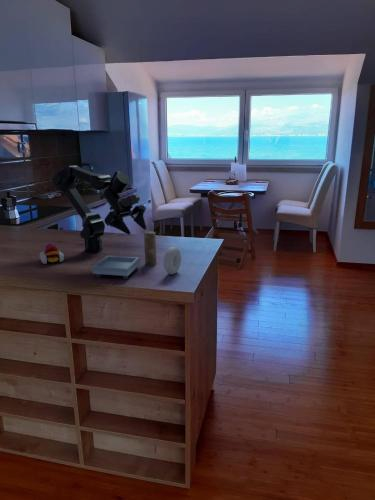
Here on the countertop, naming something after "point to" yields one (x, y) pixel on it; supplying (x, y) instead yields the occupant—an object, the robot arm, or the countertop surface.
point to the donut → (172, 260)
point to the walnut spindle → (150, 248)
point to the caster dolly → (116, 266)
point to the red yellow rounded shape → (51, 254)
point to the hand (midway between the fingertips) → (137, 231)
